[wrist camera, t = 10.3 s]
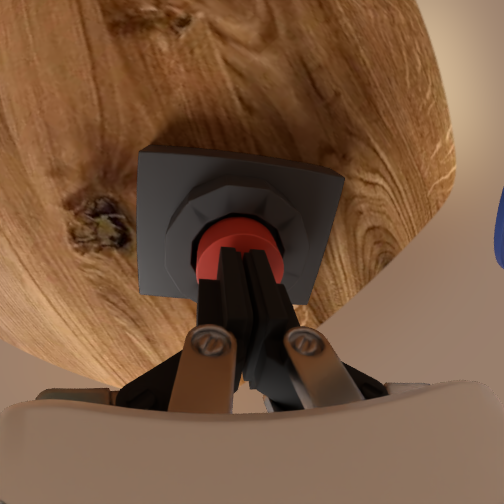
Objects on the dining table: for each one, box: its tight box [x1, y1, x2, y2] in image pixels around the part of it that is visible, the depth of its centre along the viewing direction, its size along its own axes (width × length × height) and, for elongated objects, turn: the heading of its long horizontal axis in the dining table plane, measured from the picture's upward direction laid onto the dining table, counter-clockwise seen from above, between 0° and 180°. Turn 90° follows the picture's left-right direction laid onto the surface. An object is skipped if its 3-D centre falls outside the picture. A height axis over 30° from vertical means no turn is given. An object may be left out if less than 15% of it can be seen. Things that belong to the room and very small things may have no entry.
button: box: [196, 217, 284, 284], centre depth 12 cm, size 4×4×2 cm
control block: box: [137, 145, 345, 305], centre depth 14 cm, size 10×8×4 cm
